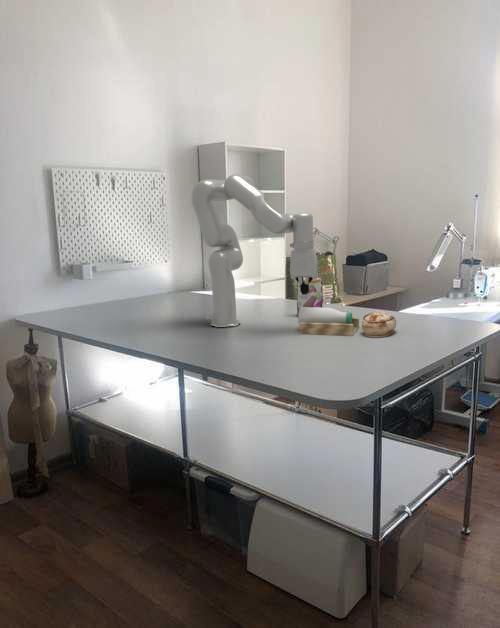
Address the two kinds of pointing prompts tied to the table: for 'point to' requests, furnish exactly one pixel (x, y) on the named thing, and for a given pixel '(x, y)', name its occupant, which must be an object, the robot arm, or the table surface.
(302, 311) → the milk bottle
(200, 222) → the robot arm
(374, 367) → the table surface
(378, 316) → the bowl of food
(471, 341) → the table surface
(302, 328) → the brown rectangular tray
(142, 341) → the table surface
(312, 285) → the candy bar box
